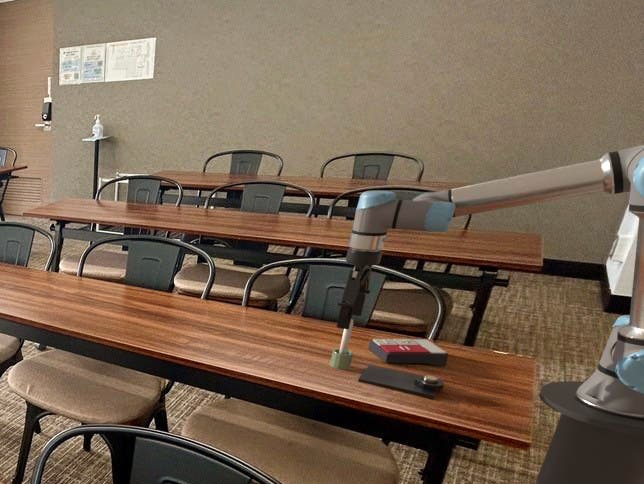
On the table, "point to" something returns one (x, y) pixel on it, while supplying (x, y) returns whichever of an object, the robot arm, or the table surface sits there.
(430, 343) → the calculator
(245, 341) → the table surface
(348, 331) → the stylus
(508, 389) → the table surface
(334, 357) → the pen cup
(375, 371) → the tablet
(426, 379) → the button
